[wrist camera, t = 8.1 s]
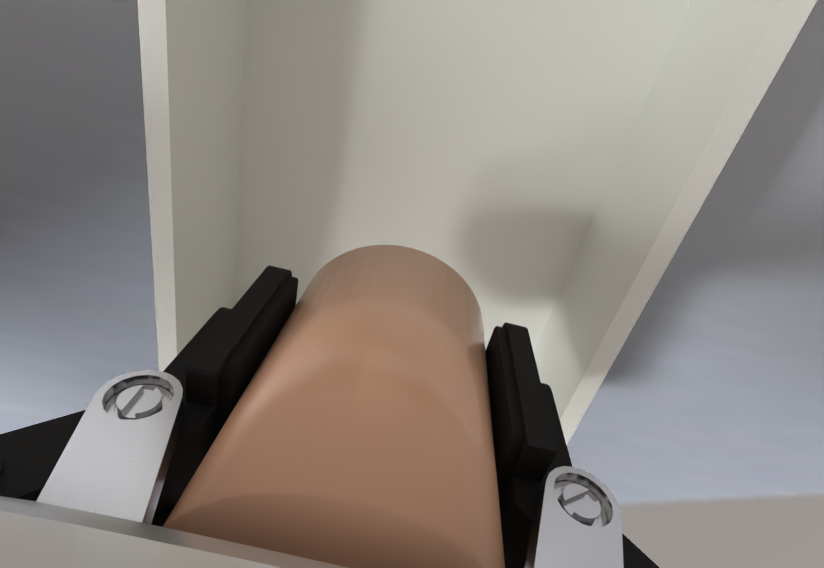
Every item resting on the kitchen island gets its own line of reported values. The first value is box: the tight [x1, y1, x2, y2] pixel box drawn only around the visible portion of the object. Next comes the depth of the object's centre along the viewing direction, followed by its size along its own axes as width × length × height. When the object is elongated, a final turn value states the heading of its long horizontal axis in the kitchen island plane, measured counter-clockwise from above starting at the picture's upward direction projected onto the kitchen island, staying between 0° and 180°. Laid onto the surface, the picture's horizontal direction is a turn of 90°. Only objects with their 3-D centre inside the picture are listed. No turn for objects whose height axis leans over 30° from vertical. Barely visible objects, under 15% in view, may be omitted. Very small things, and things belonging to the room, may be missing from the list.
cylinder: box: [163, 245, 505, 568], centre depth 9 cm, size 5×5×7 cm
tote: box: [137, 0, 817, 445], centre depth 13 cm, size 13×17×5 cm
